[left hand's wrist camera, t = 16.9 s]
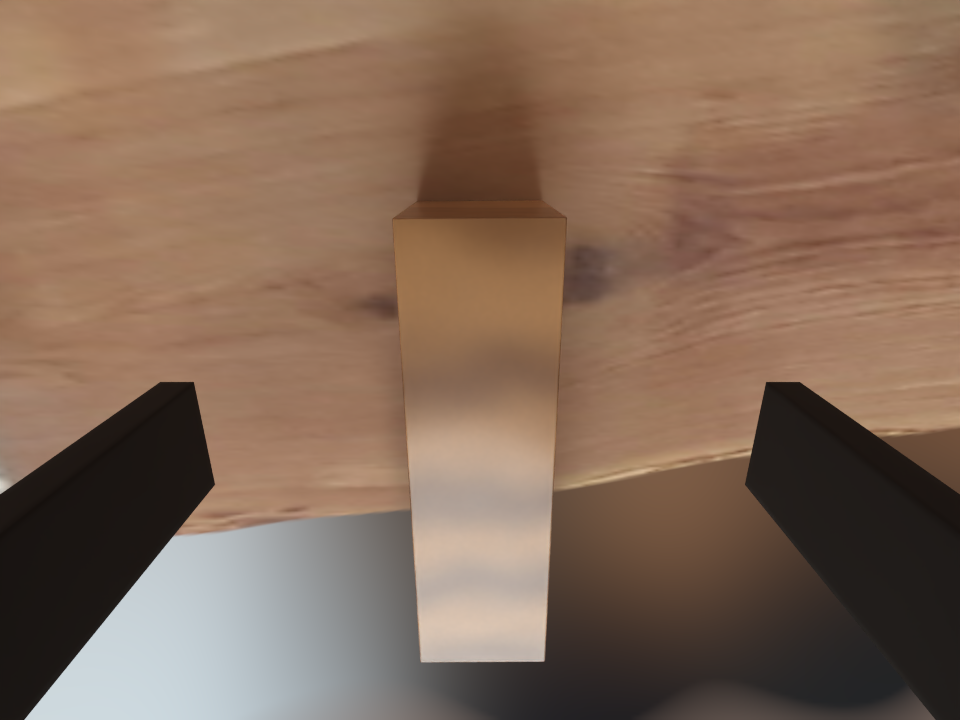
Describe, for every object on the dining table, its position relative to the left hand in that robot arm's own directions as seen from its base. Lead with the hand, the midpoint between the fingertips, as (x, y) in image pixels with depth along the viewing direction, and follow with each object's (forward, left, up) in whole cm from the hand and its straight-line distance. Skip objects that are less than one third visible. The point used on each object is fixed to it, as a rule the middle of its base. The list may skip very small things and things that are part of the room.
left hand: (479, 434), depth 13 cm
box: (+10, -4, -25) cm, 28 cm away
